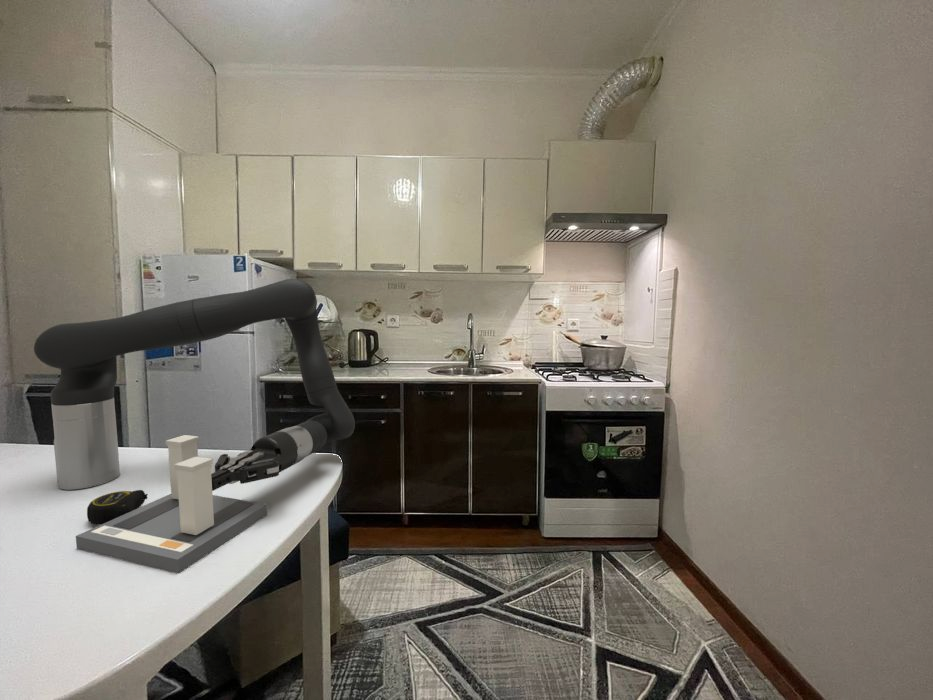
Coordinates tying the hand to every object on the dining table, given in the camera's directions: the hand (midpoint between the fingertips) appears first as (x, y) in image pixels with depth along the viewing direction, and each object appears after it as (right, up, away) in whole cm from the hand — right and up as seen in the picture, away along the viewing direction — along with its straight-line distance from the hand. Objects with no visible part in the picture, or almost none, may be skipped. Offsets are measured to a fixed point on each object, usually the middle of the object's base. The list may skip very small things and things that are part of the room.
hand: (204, 485), depth 60 cm
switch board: (-6, -8, +2) cm, 10 cm away
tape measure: (-19, -8, +7) cm, 22 cm away
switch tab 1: (-10, -5, +10) cm, 15 cm away
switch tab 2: (0, -6, -1) cm, 6 cm away
